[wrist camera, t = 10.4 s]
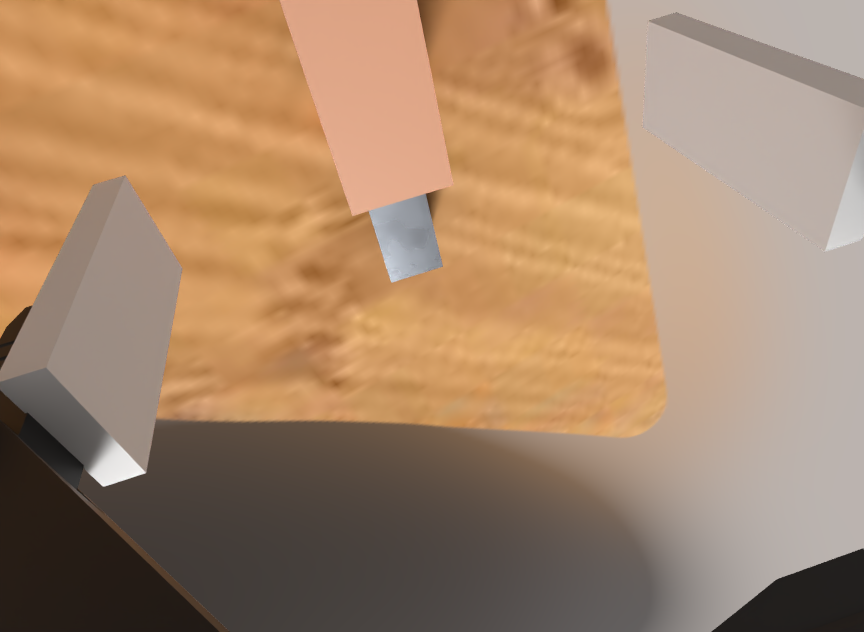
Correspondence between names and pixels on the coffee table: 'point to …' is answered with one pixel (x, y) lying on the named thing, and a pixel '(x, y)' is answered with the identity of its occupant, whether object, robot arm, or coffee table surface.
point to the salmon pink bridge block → (372, 96)
